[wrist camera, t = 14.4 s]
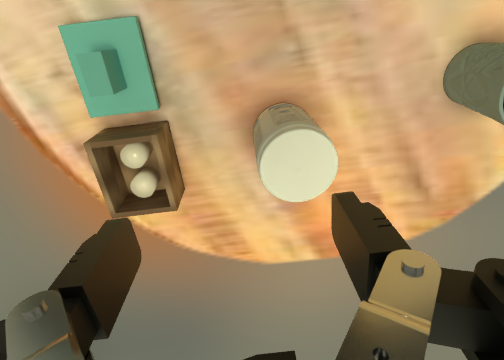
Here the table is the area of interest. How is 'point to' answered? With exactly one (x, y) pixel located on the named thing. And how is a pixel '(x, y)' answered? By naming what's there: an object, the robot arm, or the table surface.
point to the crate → (136, 169)
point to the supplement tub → (293, 153)
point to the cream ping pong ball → (136, 154)
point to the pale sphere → (145, 182)
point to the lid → (111, 66)
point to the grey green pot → (478, 79)
